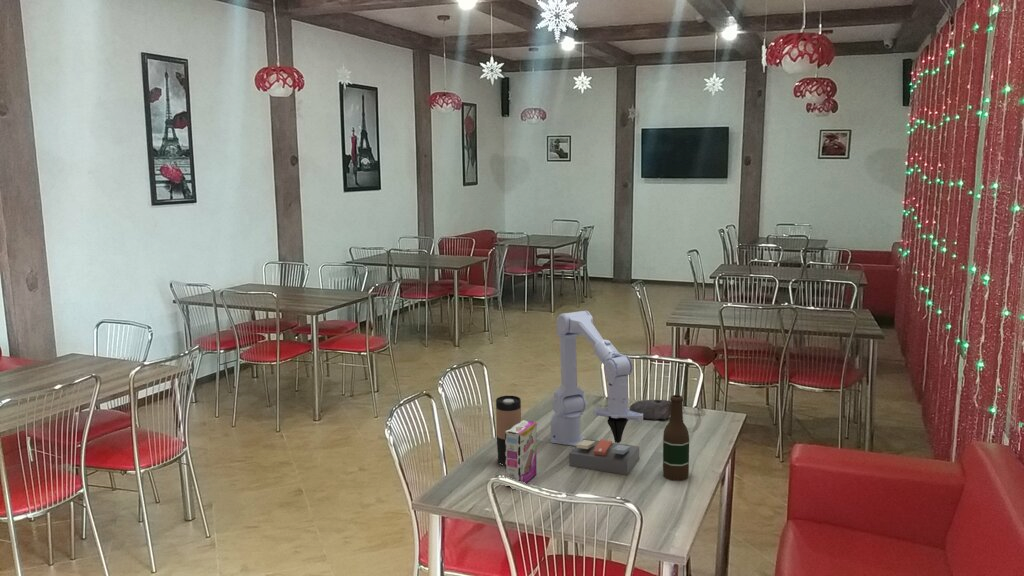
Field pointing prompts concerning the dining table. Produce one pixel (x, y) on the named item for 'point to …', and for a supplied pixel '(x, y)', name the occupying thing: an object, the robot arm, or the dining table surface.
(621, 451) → the slate rocker
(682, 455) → the beer bottle
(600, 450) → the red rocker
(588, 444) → the block
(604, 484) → the dining table surface
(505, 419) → the travel mug
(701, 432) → the dining table surface
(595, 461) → the rocker switch panel
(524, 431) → the candy bar box
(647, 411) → the perforated stone tool
